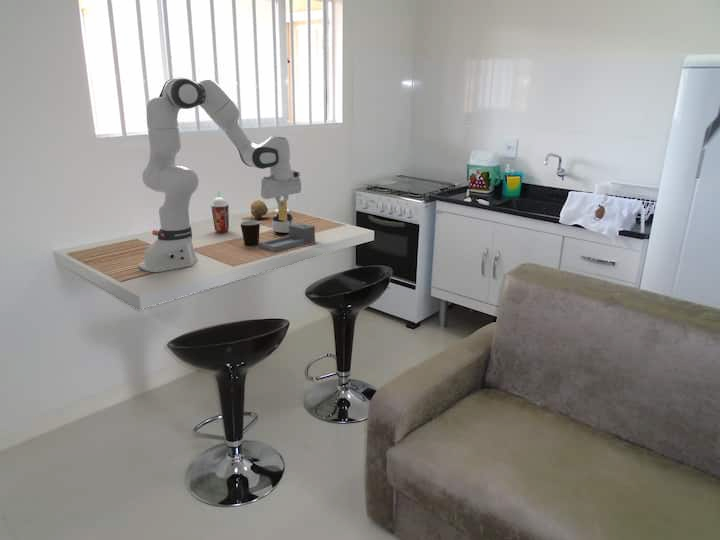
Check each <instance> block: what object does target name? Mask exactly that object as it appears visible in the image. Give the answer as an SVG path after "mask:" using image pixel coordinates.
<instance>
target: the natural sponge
mask: <svg viewBox="0 0 720 540" xmlns="http://www.w3.org/2000/svg"><path fill="white" fill-rule="evenodd" d="M268 211H269V208H268V206H267V205H266V203H265V202H264V201H263V200H260V199H259V200H255V201H253V202H252V203H251V205H250V213H251V216H252V217H253V218H254V217H255V218H256V219H261V218H262V217H264V216H266V214H268Z"/></svg>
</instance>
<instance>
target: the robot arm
mask: <svg viewBox="0 0 720 540" xmlns="http://www.w3.org/2000/svg"><path fill="white" fill-rule="evenodd" d="M198 106H200V107H201V109H203V110H204V112H205V113H206V115H208V116H209V118H211V120H212V121H213V122H214V123H215V124H216V125H217V126H218V127H220V129H221V130H222V131H223V132H224V133H225V134H226V135H227V137H228V138H229V139H230V141H231V142H232V143H233V144H234V146H235V147H236V149H237V151H238V153H239V157H240V159H241V162H242V163H243V164H244V165H246V166H248V167H250V168H251V167H252V168H257V169H260V170H261V169H262V170H264V169H268V168H269V175H268V176H263V177H262V179H261V187H260V190H261V191H260V197H262V198H263V199H265V200H268V199H273V198H275V201H276V202H277V207H278V206H279V207H280V206H283V202H281V201H280V200H284V201H286V202H288V200H289V196H290V195H294V194H299V193H301V191H302V181H301V178H300V176H301V172H299V171H296V170H293V169H291V164H290V159H291V151H290V144H289V141H288V139H287V138H286V137H285V136H284V137H283V136H278V135H277V136H276V135H270V136H269V138H267V139H266V140H265V141H263V142H261V143H259V144H257V143H256V142H253V141H251V140H250V139H249V137H248V136H247V135H246V134H245V132H244V130H243V129H242V128H241V127H240V124H239V118H240V111H239V108H238V107H237V105H236V103H235V102H234V101H233V99H232V98H231V97H230V95H229V94H228V93H227V92H226V91H225V90H224V89H223V88H222V87H221V86H220V85H219V84H218V83H217V82H216V81H214V80H213V79H212V78H211V79H210V78H207V79H203V80H200V81H199V82H196V81H194V80H192V79H189V78H185V77H173V78H170V79H168V80H167V81H166V82H165V83H164V84H163V87H162V89H161V91H160V93H159V96H158V97H153V98H151V99H150V100H149V101H148V102H147V103H146V125H147V133H148V134H147V135H148V141H149V157H148V158H149V160H148V162H147V163H148V164H147V166H146V167H145V168H144V170H143V172H142V175H141V176H142V181H143V184H144V186H146V187H147V188H148V189H150V190H153V191H155V192H158V193H164V195H165V197H164V202H163V204H162V205H161V206H160V207H159V210H158V215H159V222H160V224H159V225H160V229H159V230H156V229H153V230H152V235H153V236H154V237H155V236H156V237H157V239H156V240H155V241H154V242H153V243H152V244H151V245H150V246H148V248H147V249H145V252H144V261H142V262H139V264H138V266H139V268H140V270H143V271H146V272H150V273H160V272H166V271H171V270H176V269H182V268H187V267H193V266H194V264H195V263H196V262H197V261H198V257H197V255H196V252H195V248H194V245H193V240H192V239H193V232H192V226H190V225H191V223H190V212H189V211H190V210H189V207H190V201H191V198H192V195H193V194H194V193H195V192H196V191H197V189H198V186H199V177H198V174H197V173H196V172H195V171H194V170H192V169H190V168H188V167H185V166H184V165H183V166H182V165H175V161H176V157H177V156H176V155H177V154H178V152H180V150H181V148H182V146H181V145H182V143H181V136H180V130H179V122H178V114H179V112H180V110H183V109H184V110H189V109H193V108H195V107H198ZM281 197H283V199H282V198H281Z"/></svg>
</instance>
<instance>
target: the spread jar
mask: <svg viewBox="0 0 720 540" xmlns="http://www.w3.org/2000/svg"><path fill="white" fill-rule="evenodd" d="M274 210H275V212H274V213H275V214H274V215H273V217H272V231H273V232H274V234H275V235H279V236H289V225H293V224H294V217H293V216H292V214H291V213H290V209H288V208H287V221H282V220H279V214H278V208H277V209H274Z"/></svg>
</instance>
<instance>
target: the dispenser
mask: <svg viewBox="0 0 720 540" xmlns="http://www.w3.org/2000/svg"><path fill="white" fill-rule="evenodd" d="M315 231H316V230H315V225H311V224H305V223H302V222H298V223H293V225H289V234H288V235H285V236H282V237H279V238H273V239H270V240H266V241H262V242H259V248H260V249H264V250H268V251H270V252H273V253H274V252H279V250H280V251H283V250H287V249H289V247H291V248H294V247H293V246H295V247H297V246H301V245H305V244H309V243H313V242H316V232H315ZM286 248H287V249H286ZM282 249H283V250H282Z"/></svg>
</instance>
